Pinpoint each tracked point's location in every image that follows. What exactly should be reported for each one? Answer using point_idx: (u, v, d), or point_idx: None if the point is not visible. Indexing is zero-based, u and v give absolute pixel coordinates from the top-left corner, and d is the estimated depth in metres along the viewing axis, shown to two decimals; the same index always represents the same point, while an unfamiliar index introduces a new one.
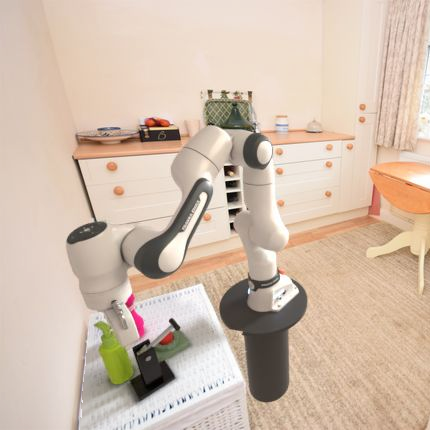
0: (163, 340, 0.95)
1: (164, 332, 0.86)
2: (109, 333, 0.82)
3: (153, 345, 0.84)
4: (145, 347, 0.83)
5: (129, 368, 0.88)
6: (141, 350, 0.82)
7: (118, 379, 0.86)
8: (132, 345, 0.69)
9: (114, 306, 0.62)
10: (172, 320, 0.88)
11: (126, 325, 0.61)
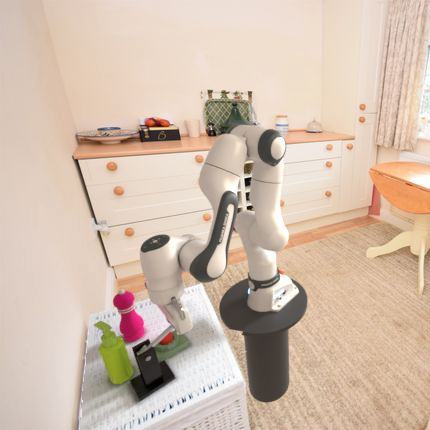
0: (163, 340, 0.95)
1: (164, 332, 0.86)
2: (109, 333, 0.82)
3: (153, 345, 0.84)
4: (145, 347, 0.83)
5: (129, 368, 0.88)
6: (141, 350, 0.82)
7: (118, 379, 0.86)
8: None
9: (174, 301, 0.78)
10: None
11: (184, 316, 0.77)
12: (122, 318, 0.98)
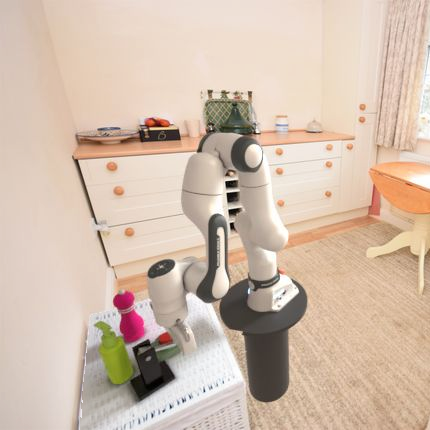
0: (163, 340, 0.95)
1: (169, 343, 0.88)
2: (109, 333, 0.82)
3: (155, 350, 0.85)
4: (149, 347, 0.84)
5: (129, 368, 0.88)
6: (144, 348, 0.83)
7: (118, 379, 0.86)
8: None
9: (179, 324, 0.82)
10: None
11: (189, 338, 0.81)
12: (122, 318, 0.98)
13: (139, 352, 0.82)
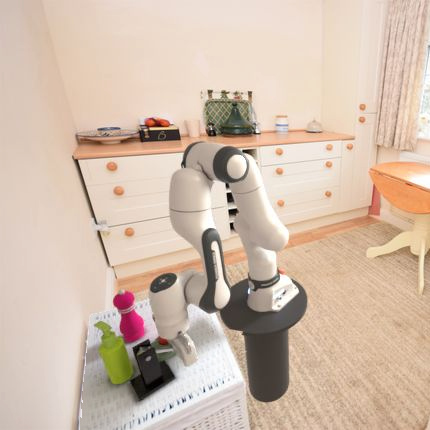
0: (163, 340, 0.95)
1: (168, 347, 0.88)
2: (109, 333, 0.82)
3: None
4: None
5: (129, 368, 0.88)
6: (145, 348, 0.83)
7: (118, 379, 0.86)
8: None
9: (181, 336, 0.83)
10: None
11: (190, 351, 0.82)
12: (122, 318, 0.98)
13: (140, 351, 0.82)
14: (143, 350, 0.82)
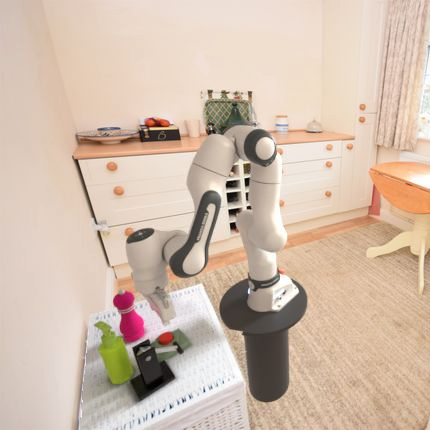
0: (163, 340, 0.95)
1: (168, 347, 0.88)
2: (109, 333, 0.82)
3: None
4: None
5: (129, 368, 0.88)
6: (145, 348, 0.83)
7: (118, 379, 0.86)
8: (168, 322, 0.89)
9: (158, 291, 0.83)
10: None
11: (168, 305, 0.82)
12: (122, 318, 0.98)
13: (140, 351, 0.82)
14: (143, 350, 0.82)
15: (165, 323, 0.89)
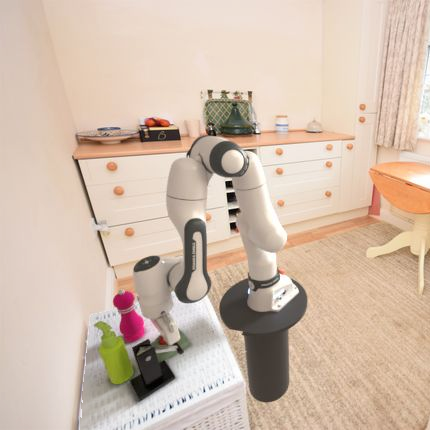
0: (163, 341, 0.95)
1: (168, 347, 0.88)
2: (109, 333, 0.82)
3: None
4: None
5: (129, 368, 0.88)
6: (145, 348, 0.83)
7: (118, 379, 0.86)
8: None
9: (164, 316, 0.87)
10: None
11: (172, 329, 0.86)
12: (122, 318, 0.98)
13: (140, 351, 0.82)
14: (143, 350, 0.82)
15: None
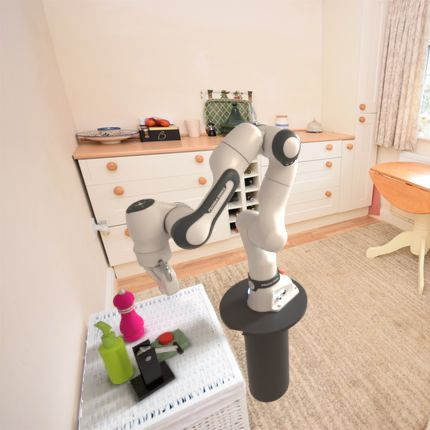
0: (163, 340, 0.95)
1: (168, 347, 0.88)
2: (109, 333, 0.82)
3: None
4: None
5: (129, 368, 0.88)
6: (145, 348, 0.83)
7: (118, 379, 0.86)
8: None
9: (161, 263, 0.80)
10: None
11: (171, 277, 0.79)
12: (122, 318, 0.98)
13: (140, 351, 0.82)
14: (143, 350, 0.82)
15: (164, 292, 0.88)
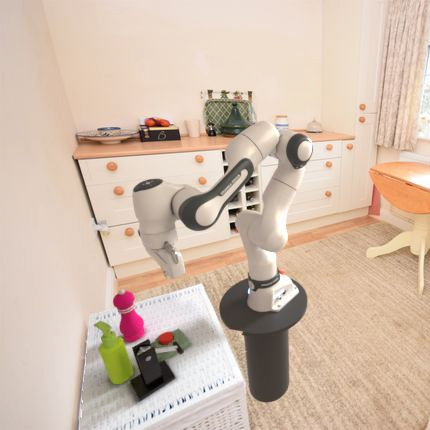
0: (163, 340, 0.95)
1: (168, 347, 0.88)
2: (109, 333, 0.82)
3: None
4: None
5: (129, 368, 0.88)
6: (145, 348, 0.83)
7: (118, 379, 0.86)
8: None
9: (167, 245, 0.78)
10: None
11: (177, 259, 0.77)
12: (122, 318, 0.98)
13: (140, 351, 0.82)
14: (143, 350, 0.82)
15: (168, 276, 0.86)
